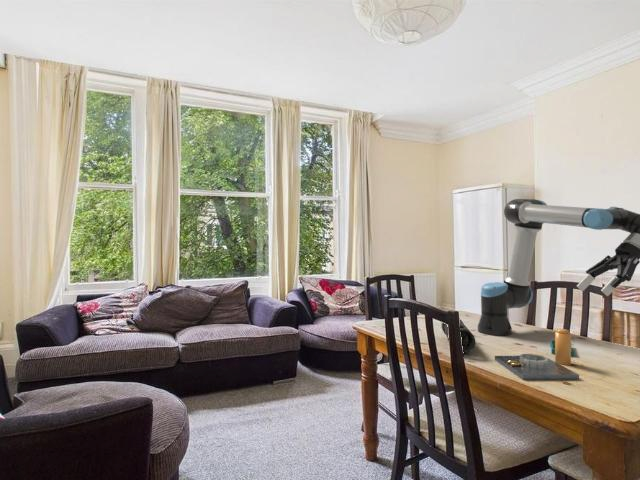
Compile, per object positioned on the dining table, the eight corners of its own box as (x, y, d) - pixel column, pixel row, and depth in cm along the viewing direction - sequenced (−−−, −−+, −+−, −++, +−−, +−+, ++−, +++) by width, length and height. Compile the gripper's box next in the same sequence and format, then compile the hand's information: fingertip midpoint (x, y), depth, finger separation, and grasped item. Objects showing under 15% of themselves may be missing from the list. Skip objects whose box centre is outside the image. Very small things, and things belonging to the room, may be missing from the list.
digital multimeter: (570, 348, 158) (570, 341, 158) (574, 358, 145) (573, 350, 145) (550, 345, 162) (550, 338, 162) (551, 355, 149) (551, 347, 149)
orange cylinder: (552, 360, 141) (552, 328, 141) (565, 360, 141) (565, 328, 141) (560, 365, 136) (560, 331, 136) (574, 365, 136) (573, 331, 136)
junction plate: (494, 359, 142) (494, 349, 142) (542, 359, 142) (542, 348, 142) (523, 379, 122) (522, 367, 122) (579, 379, 122) (578, 367, 122)
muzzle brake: (450, 354, 149) (450, 328, 149) (440, 336, 177) (440, 314, 177) (476, 356, 148) (476, 329, 148) (462, 337, 175) (462, 314, 175)
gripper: (670, 256, 125) (625, 303, 125) (615, 254, 150) (577, 293, 150) (653, 240, 125) (607, 287, 126) (601, 241, 150) (563, 280, 151)
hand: (591, 290), depth 138 cm, fingers open, 13 cm apart
